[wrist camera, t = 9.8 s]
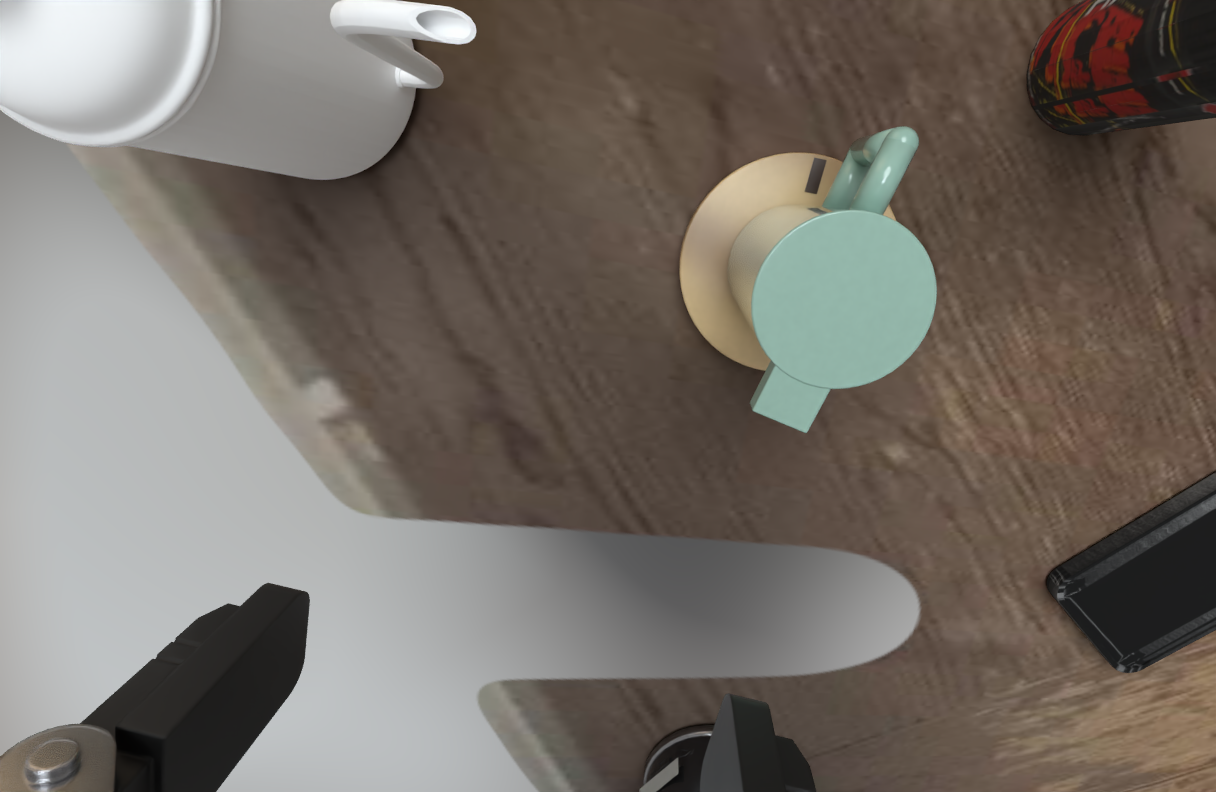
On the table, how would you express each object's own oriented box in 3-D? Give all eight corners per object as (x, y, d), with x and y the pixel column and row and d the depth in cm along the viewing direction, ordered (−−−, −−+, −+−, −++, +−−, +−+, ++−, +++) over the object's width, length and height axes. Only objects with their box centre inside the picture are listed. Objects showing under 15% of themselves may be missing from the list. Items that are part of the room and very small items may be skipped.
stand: (707, 133, 33) (709, 130, 32) (923, 179, 33) (935, 178, 31) (658, 341, 37) (658, 347, 35) (853, 385, 36) (861, 393, 35)
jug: (801, 376, 35) (857, 455, 24) (693, 330, 34) (702, 391, 24) (909, 169, 31) (1028, 157, 21) (790, 118, 31) (849, 79, 21)
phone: (1048, 589, 37) (1319, 429, 33) (1038, 578, 38) (1299, 421, 34) (1124, 680, 39) (1394, 536, 35) (1112, 667, 40) (1373, 526, 36)
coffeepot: (554, 216, 35) (432, 240, 17) (109, 145, 36) (-439, 100, 18) (582, -15, 32) (465, -281, 14) (91, -84, 33) (-602, -413, 15)
